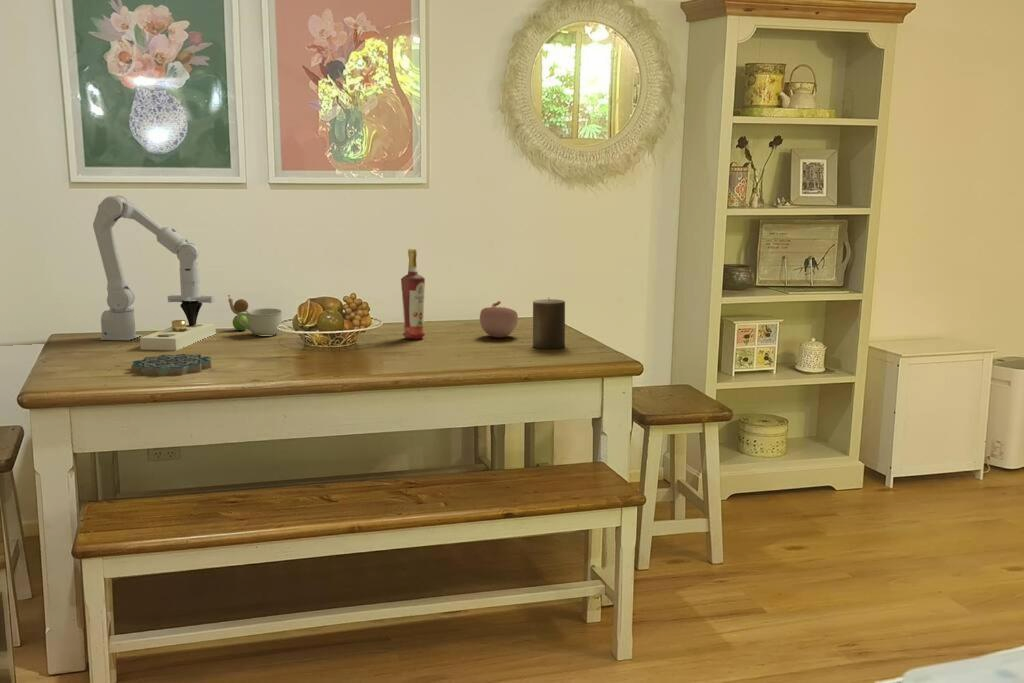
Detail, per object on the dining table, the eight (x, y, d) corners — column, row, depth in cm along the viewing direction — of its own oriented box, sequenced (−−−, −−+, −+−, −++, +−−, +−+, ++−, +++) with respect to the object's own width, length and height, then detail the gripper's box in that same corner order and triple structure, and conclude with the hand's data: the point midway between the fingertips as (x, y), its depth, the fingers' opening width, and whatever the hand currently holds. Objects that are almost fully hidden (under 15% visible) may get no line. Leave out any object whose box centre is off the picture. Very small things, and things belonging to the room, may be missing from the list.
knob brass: (169, 331, 293) (169, 321, 292) (176, 329, 297) (175, 319, 296) (182, 331, 292) (181, 321, 292) (188, 329, 296) (187, 319, 296)
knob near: (156, 345, 284) (155, 335, 284) (162, 343, 288) (161, 333, 288) (168, 346, 284) (168, 335, 283) (175, 343, 288) (174, 333, 287)
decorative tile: (226, 368, 257) (225, 360, 257) (156, 381, 243) (155, 371, 242) (187, 359, 271) (186, 350, 270) (118, 370, 256) (118, 361, 256)
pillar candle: (562, 349, 283) (562, 299, 280) (529, 348, 285) (529, 298, 282) (567, 343, 292) (567, 295, 290) (535, 342, 294) (535, 294, 292)
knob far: (184, 335, 302) (183, 325, 301) (189, 333, 306) (189, 323, 305) (196, 335, 301) (195, 326, 301) (201, 333, 305) (201, 324, 305)
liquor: (414, 341, 296) (412, 250, 291) (397, 339, 300) (395, 249, 295) (430, 338, 302) (429, 249, 296) (413, 335, 306) (411, 247, 301)
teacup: (287, 332, 312) (286, 308, 310) (276, 338, 301) (275, 313, 300) (246, 331, 313) (245, 307, 312) (233, 337, 303) (232, 312, 301)
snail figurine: (228, 330, 316) (226, 293, 314) (248, 328, 319) (246, 292, 317) (231, 332, 311) (229, 296, 309) (251, 331, 314) (249, 294, 312)
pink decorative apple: (519, 334, 309) (519, 299, 307) (515, 341, 297) (515, 304, 295) (482, 333, 310) (482, 298, 308) (477, 340, 298) (477, 303, 296)
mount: (140, 349, 283) (139, 337, 282) (183, 333, 309) (182, 323, 308) (176, 350, 281) (175, 338, 281) (215, 334, 308) (215, 323, 307)
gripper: (161, 283, 298) (164, 326, 300) (206, 284, 296) (208, 327, 298) (172, 280, 305) (175, 323, 307) (216, 281, 303) (218, 324, 305)
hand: (192, 325), depth 303 cm, fingers closed, pressing on knob far
